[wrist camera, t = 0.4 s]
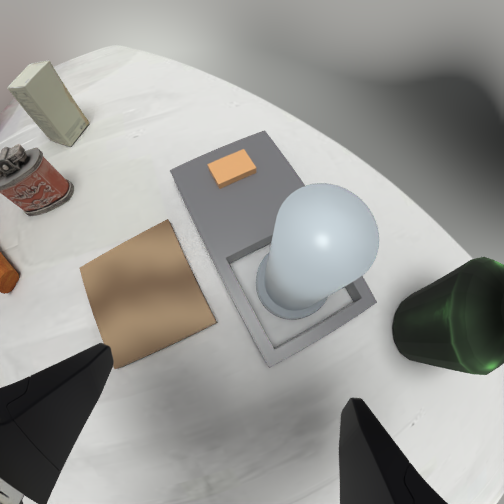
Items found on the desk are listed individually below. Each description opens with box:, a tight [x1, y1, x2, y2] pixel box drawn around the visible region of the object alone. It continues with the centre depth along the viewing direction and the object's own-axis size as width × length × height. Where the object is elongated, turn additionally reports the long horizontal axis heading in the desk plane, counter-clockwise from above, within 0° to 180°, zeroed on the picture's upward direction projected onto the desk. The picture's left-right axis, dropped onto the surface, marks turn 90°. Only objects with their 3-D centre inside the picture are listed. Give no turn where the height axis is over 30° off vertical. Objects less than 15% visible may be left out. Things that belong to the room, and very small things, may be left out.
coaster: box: [80, 219, 217, 369], centre depth 22 cm, size 10×10×1 cm
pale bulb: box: [256, 183, 379, 319], centre depth 18 cm, size 6×6×12 cm
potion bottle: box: [393, 257, 504, 375], centre depth 13 cm, size 8×8×18 cm
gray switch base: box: [170, 131, 377, 367], centre depth 23 cm, size 19×10×3 cm, turn 28°
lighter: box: [0, 144, 74, 216], centre depth 21 cm, size 8×3×10 cm, turn 102°
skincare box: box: [8, 61, 89, 146], centre depth 23 cm, size 6×4×12 cm
